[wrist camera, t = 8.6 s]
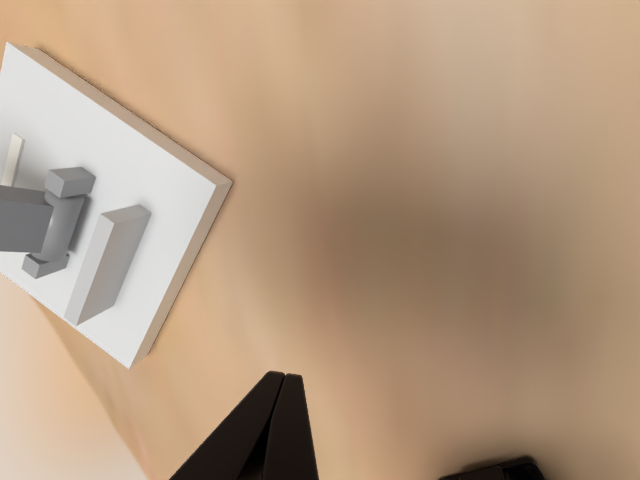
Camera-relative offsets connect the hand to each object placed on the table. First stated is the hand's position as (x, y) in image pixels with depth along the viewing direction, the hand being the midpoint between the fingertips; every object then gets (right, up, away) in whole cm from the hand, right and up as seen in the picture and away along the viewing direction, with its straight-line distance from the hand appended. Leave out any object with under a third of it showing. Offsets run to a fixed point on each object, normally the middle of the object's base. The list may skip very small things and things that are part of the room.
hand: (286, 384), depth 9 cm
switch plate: (-15, +5, +18) cm, 24 cm away
